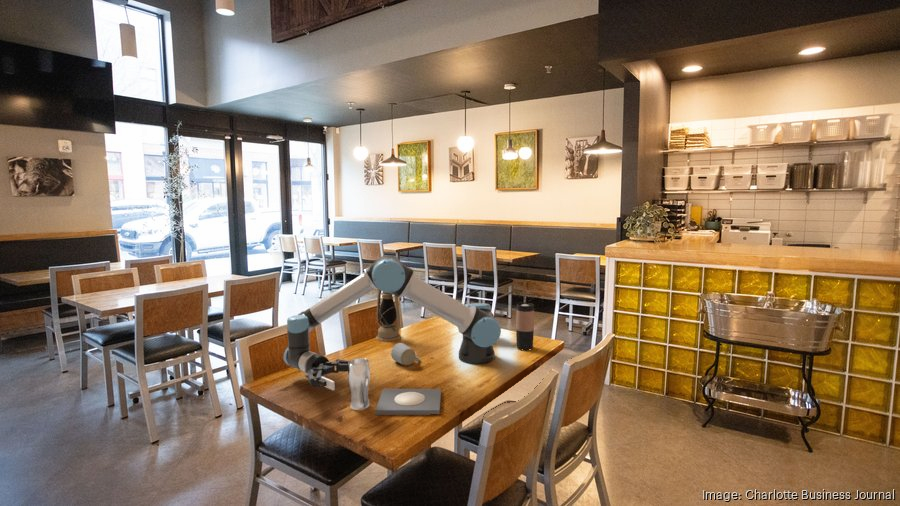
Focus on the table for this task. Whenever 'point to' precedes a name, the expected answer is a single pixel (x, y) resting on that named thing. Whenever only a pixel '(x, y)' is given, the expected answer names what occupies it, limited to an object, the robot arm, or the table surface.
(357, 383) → the beer glass
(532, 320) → the travel mug
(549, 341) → the table surface
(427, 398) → the charcoal board
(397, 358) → the ceramic mug
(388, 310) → the lantern
